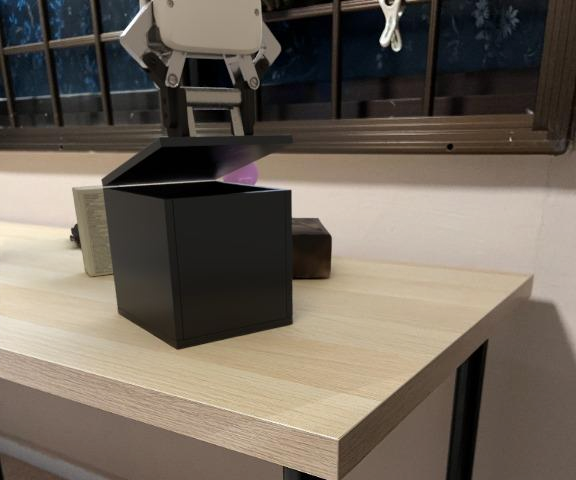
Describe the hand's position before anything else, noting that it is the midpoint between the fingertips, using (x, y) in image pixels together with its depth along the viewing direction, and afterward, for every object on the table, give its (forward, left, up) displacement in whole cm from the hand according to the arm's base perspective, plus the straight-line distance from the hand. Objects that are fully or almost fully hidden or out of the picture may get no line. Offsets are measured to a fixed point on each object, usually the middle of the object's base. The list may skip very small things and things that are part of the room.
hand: (211, 134), depth 57 cm
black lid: (0, +4, -3) cm, 5 cm away
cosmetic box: (0, +34, -19) cm, 39 cm away
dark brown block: (+25, +20, -19) cm, 37 cm away
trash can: (0, +4, -19) cm, 19 cm away
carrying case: (+8, +61, -19) cm, 65 cm away
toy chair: (+22, +34, -19) cm, 45 cm away
